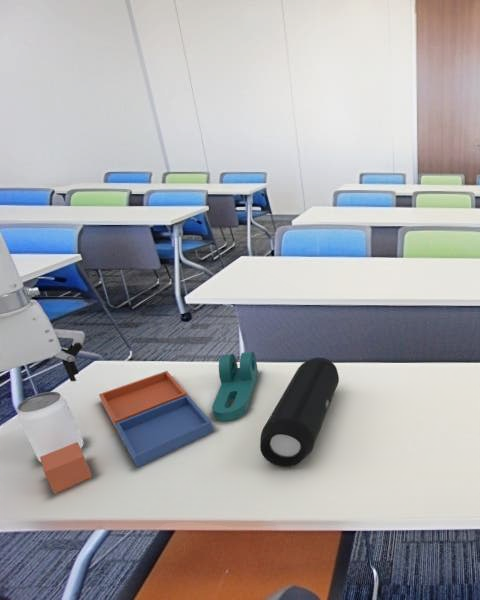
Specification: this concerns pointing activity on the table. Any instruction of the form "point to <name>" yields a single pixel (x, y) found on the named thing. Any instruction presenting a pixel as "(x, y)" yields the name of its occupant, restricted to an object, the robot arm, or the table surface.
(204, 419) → the blue tray
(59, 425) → the can
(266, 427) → the portable speaker
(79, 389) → the table surface
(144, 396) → the terracotta tray
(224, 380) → the bracket
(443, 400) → the table surface
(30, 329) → the robot arm
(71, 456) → the block
